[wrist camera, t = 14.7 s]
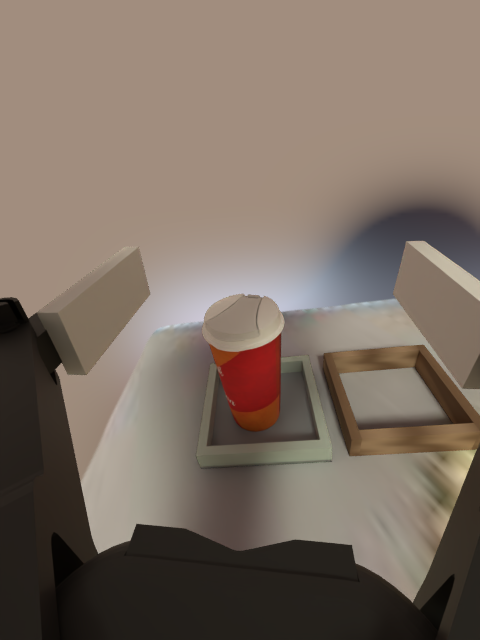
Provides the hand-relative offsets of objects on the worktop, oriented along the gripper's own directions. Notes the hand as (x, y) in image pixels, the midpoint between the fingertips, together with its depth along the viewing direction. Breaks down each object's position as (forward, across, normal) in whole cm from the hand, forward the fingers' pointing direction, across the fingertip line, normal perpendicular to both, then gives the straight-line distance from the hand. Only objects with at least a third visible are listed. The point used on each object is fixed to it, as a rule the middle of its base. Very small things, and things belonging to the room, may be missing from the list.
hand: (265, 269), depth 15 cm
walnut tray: (+12, +14, -22) cm, 29 cm away
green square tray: (+11, -1, -24) cm, 26 cm away
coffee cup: (+11, -2, -24) cm, 26 cm away
